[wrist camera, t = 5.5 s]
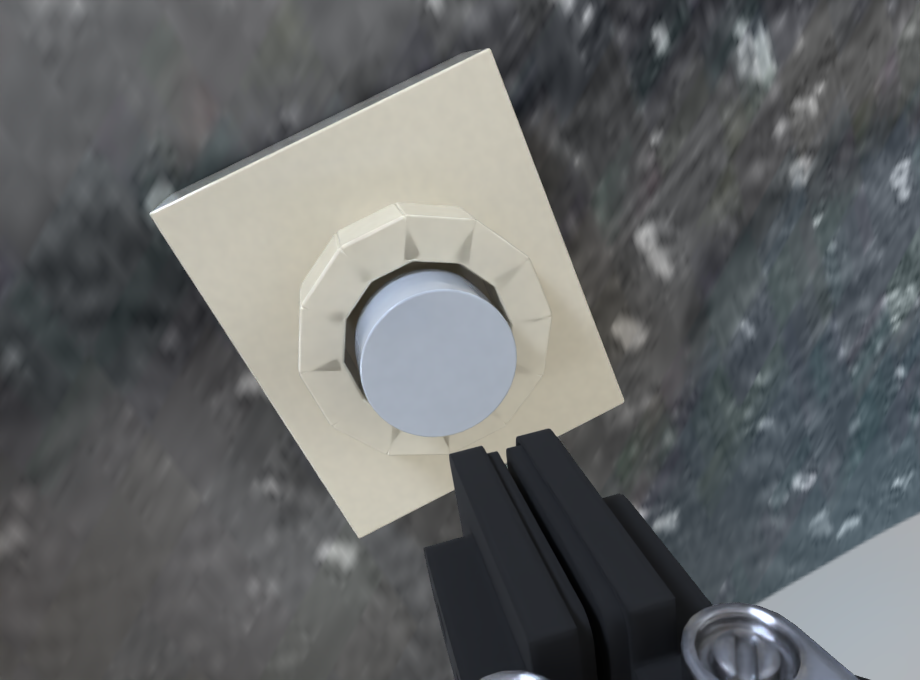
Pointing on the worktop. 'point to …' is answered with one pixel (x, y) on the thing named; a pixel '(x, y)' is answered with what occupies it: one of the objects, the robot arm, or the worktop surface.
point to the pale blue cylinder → (433, 353)
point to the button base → (391, 275)
